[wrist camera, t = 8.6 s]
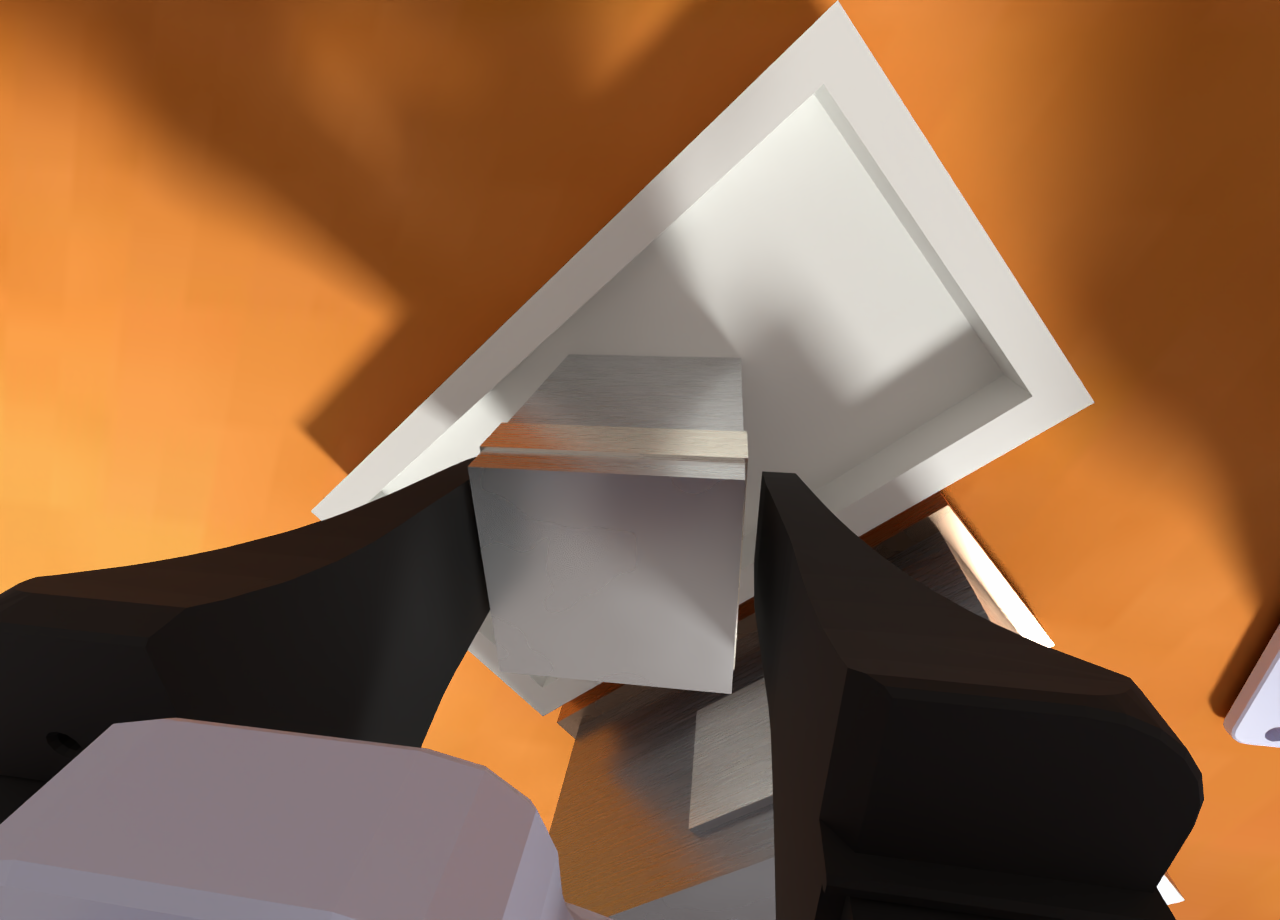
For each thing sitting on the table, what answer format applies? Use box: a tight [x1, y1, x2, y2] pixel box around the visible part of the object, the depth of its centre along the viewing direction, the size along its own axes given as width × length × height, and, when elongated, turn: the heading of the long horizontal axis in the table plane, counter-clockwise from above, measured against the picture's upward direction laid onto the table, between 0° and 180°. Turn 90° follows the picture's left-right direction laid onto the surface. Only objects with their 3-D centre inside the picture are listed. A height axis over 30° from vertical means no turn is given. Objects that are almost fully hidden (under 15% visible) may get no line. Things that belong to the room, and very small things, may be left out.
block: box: [468, 354, 748, 694], centre depth 12 cm, size 4×4×6 cm
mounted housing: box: [549, 491, 1185, 920], centre depth 15 cm, size 13×5×7 cm, turn 132°
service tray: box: [311, 0, 1095, 716], centre depth 14 cm, size 16×9×2 cm, turn 132°
